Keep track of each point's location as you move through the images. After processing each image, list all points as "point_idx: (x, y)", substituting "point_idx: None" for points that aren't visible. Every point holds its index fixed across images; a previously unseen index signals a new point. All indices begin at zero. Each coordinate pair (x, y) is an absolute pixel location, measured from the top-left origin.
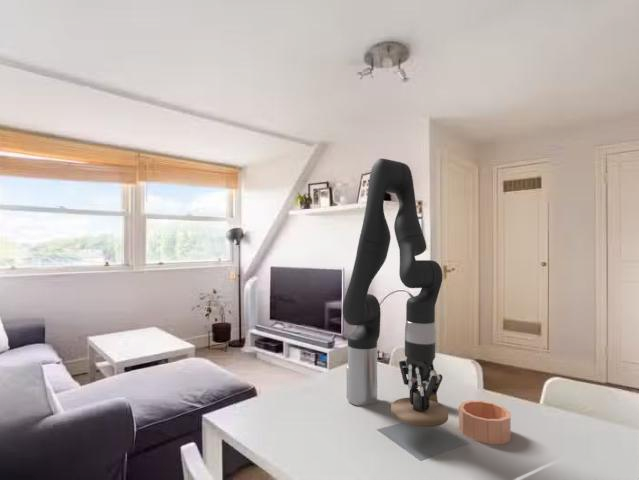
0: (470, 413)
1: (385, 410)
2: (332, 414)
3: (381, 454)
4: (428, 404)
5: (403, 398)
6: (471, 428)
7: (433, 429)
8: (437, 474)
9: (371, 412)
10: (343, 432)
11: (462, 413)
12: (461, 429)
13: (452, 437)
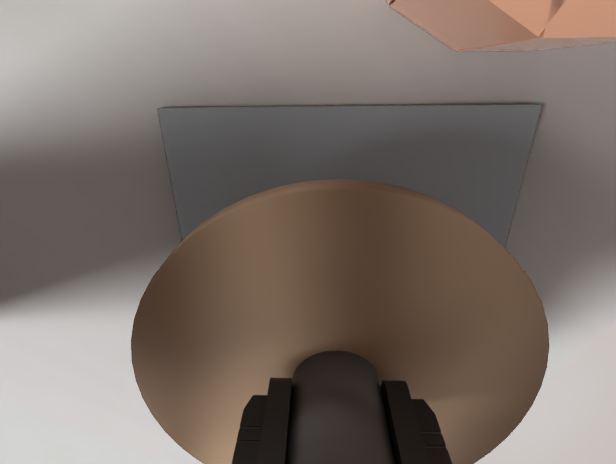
0: None
1: (18, 229)
2: (27, 419)
3: None
4: (438, 437)
5: (139, 366)
6: (568, 45)
7: (320, 174)
8: (548, 379)
9: (32, 298)
10: (174, 449)
11: (513, 28)
12: (436, 30)
13: (441, 148)
